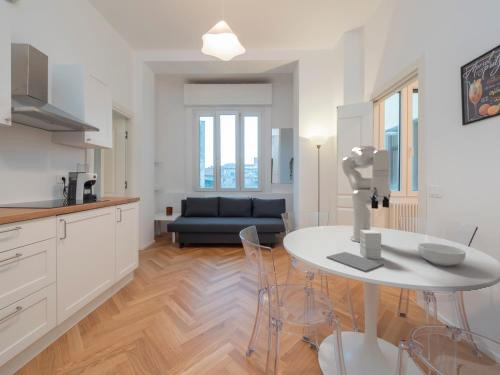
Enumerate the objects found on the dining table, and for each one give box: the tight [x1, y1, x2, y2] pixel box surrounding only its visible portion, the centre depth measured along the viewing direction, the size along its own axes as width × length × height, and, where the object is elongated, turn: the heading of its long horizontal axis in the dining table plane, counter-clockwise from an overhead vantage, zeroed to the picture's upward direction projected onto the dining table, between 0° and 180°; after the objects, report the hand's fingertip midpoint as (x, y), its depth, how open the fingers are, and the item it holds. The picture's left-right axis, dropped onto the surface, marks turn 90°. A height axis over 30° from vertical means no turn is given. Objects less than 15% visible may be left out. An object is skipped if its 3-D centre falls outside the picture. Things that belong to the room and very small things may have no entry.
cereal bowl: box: [417, 242, 467, 267], centre depth 106 cm, size 17×17×7 cm
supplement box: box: [359, 229, 382, 260], centre depth 115 cm, size 7×7×13 cm
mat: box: [326, 251, 384, 273], centre depth 108 cm, size 14×20×1 cm
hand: (380, 207), depth 119 cm, fingers open, 9 cm apart
